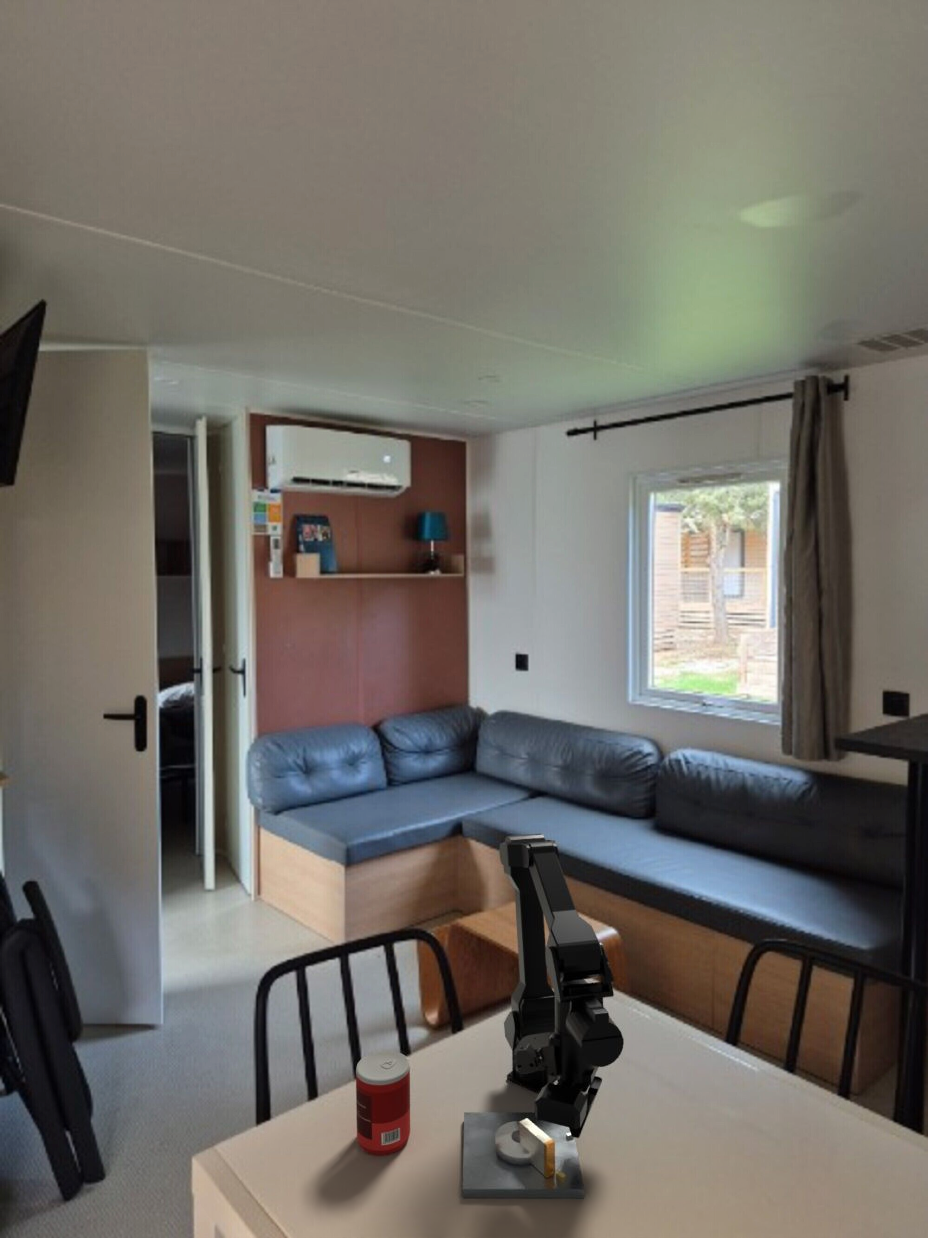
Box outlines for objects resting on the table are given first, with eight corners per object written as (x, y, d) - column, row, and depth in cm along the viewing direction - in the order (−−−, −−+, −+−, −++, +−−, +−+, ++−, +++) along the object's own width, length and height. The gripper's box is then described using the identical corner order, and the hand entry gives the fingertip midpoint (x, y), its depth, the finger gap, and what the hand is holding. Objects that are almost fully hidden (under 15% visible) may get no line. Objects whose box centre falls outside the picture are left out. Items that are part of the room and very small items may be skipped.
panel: (462, 1198, 108) (462, 1185, 108) (464, 1120, 124) (464, 1108, 124) (584, 1198, 108) (584, 1185, 108) (570, 1120, 124) (570, 1108, 124)
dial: (485, 1143, 117) (485, 1112, 117) (524, 1125, 121) (524, 1096, 120) (530, 1186, 108) (530, 1153, 108) (570, 1166, 112) (570, 1134, 112)
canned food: (419, 1129, 122) (418, 1057, 121) (392, 1163, 115) (391, 1086, 114) (375, 1116, 125) (374, 1045, 125) (346, 1148, 118) (345, 1073, 117)
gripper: (541, 986, 126) (541, 1085, 126) (497, 1048, 109) (498, 1163, 109) (612, 1000, 121) (613, 1103, 122) (578, 1067, 104) (579, 1186, 105)
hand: (575, 1136), depth 114 cm, fingers closed
